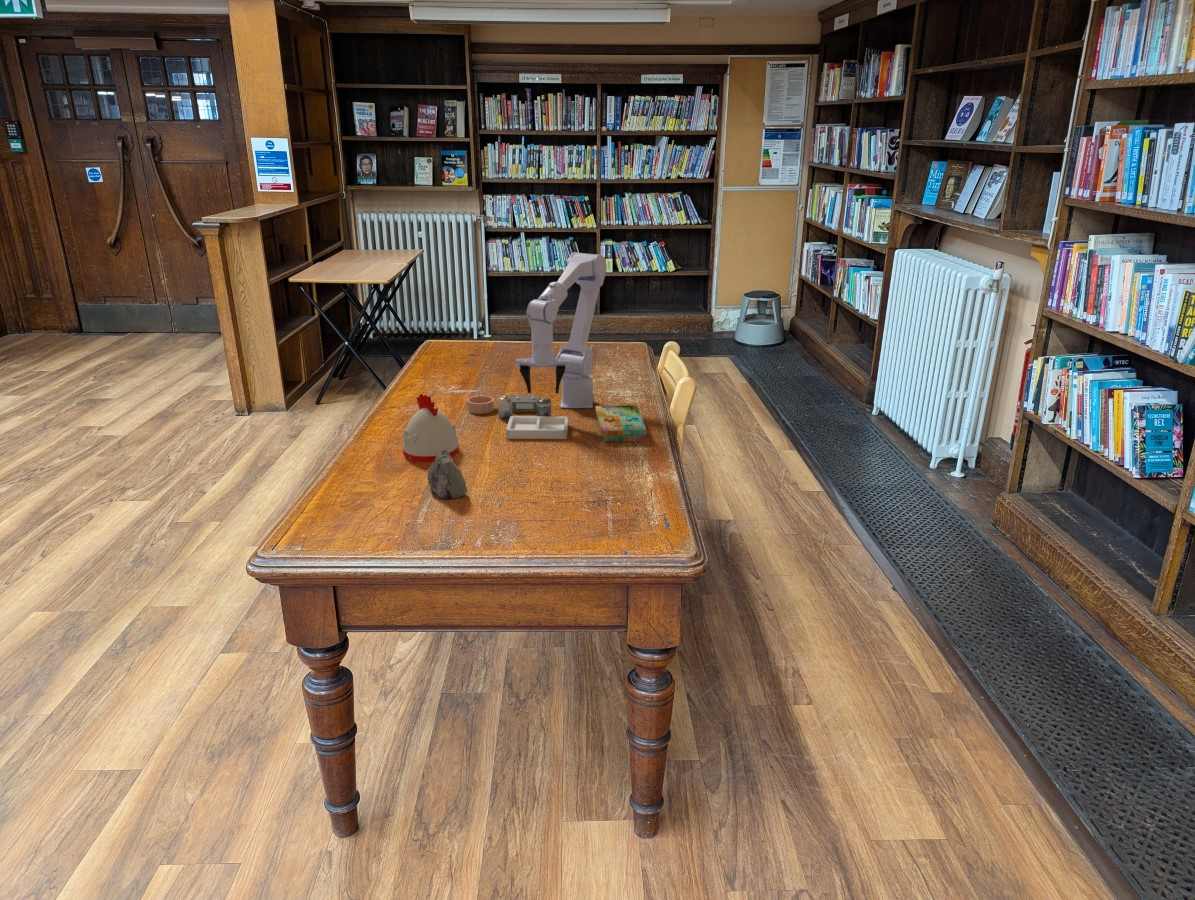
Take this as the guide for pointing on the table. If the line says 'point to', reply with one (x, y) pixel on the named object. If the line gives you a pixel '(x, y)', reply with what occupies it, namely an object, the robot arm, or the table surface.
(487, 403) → the pink bowl
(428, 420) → the kitchen timer
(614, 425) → the puzzle game
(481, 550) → the table surface
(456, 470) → the mineral rock
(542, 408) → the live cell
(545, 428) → the tray
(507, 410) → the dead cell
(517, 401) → the grey box with knobs
